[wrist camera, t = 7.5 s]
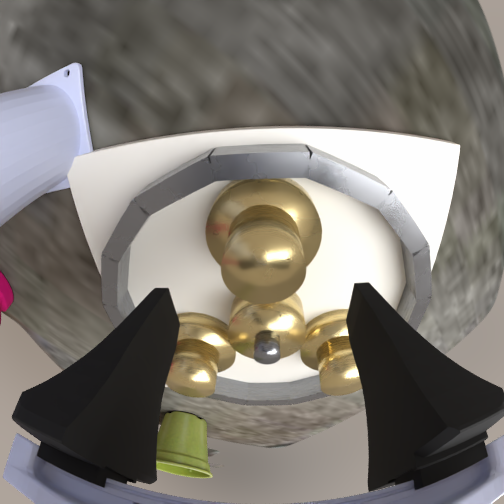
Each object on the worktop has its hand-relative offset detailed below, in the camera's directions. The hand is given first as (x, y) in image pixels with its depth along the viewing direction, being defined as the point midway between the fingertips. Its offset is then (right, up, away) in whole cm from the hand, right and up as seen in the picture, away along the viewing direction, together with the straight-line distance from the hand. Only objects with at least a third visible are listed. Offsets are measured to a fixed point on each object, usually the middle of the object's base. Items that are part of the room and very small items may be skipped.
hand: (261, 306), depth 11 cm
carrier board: (+1, -1, +9) cm, 9 cm away
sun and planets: (+1, -4, +9) cm, 10 cm away
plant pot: (-10, -22, +23) cm, 33 cm away
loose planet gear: (0, +4, +5) cm, 6 cm away
